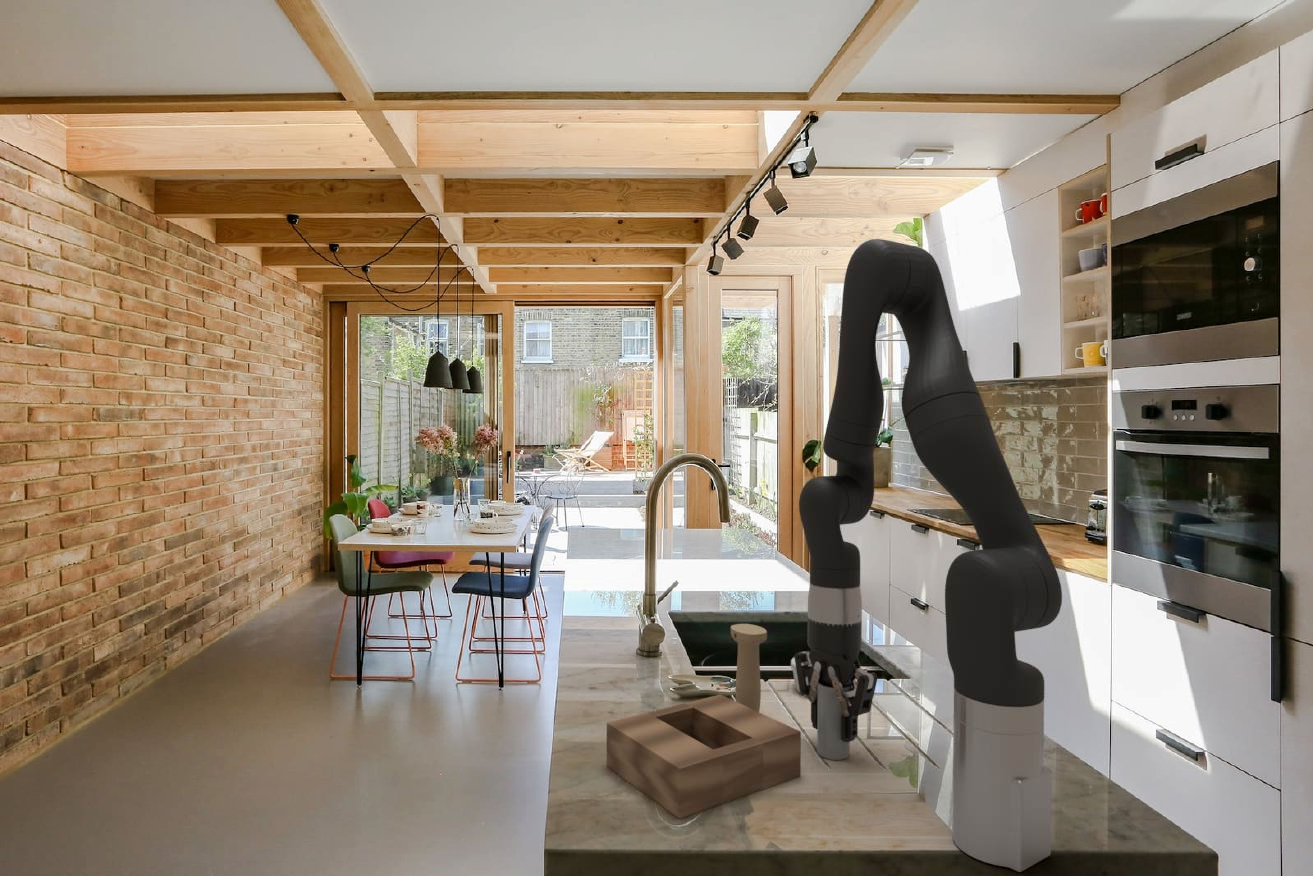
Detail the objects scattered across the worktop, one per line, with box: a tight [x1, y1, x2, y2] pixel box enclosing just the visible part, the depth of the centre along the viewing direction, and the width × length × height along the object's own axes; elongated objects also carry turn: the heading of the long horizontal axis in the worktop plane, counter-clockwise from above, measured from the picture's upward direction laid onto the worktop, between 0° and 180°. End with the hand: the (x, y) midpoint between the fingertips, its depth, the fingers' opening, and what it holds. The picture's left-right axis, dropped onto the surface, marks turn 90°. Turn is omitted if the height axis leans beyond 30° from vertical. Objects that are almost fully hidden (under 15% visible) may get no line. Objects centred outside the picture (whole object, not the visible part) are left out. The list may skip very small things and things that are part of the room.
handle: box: [730, 623, 768, 713], centre depth 121 cm, size 5×6×15 cm
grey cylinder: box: [816, 681, 851, 761], centre depth 110 cm, size 4×4×10 cm
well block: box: [606, 694, 802, 819], centre depth 105 cm, size 17×20×6 cm
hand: (833, 733), depth 110 cm, fingers open, 5 cm apart
